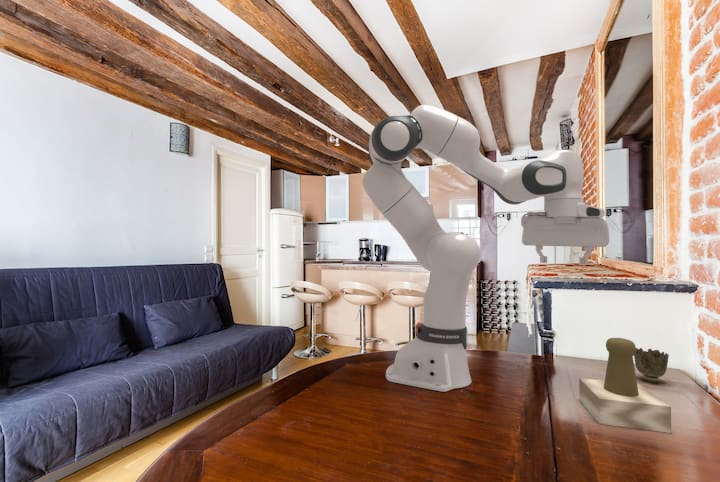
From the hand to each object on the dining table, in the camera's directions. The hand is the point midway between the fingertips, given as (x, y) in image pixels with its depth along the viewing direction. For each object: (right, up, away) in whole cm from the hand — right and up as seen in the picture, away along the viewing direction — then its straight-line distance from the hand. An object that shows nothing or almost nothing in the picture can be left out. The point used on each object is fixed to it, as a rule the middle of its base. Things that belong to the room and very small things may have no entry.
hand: (563, 263), depth 94 cm
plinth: (+1, -31, -19) cm, 36 cm away
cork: (+1, -26, -19) cm, 32 cm away
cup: (+24, -32, +1) cm, 40 cm away
